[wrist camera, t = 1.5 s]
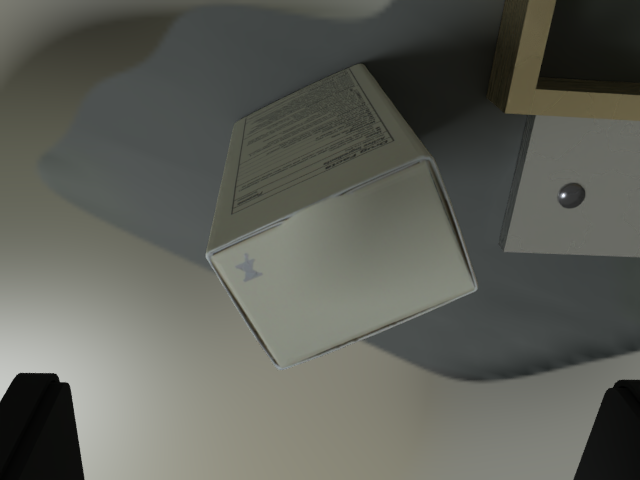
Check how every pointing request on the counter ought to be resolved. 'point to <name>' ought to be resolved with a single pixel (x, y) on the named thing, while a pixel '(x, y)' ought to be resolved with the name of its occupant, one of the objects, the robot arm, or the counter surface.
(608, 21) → the counter surface
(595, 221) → the wooden flat frame
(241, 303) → the skincare box
